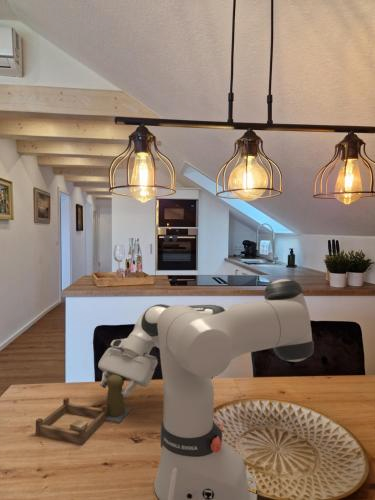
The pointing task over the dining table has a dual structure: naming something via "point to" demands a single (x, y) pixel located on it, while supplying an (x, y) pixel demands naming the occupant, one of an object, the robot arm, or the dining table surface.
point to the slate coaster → (117, 418)
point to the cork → (115, 395)
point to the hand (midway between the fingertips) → (112, 391)
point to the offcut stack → (78, 425)
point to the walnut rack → (69, 435)
